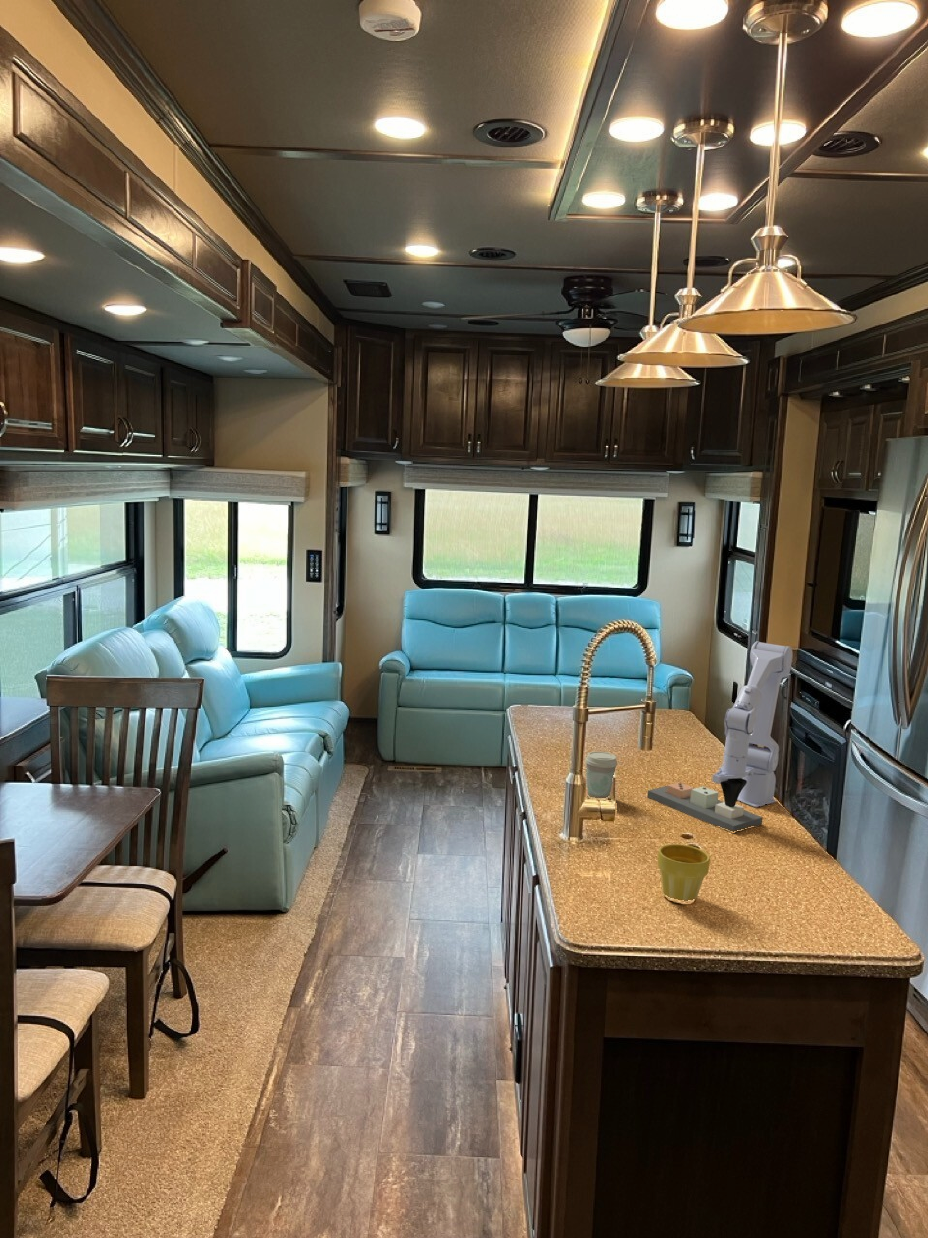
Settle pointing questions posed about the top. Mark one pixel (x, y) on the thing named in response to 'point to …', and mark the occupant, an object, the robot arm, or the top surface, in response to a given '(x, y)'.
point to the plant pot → (682, 870)
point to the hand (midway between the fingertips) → (729, 805)
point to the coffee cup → (600, 773)
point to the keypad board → (704, 811)
